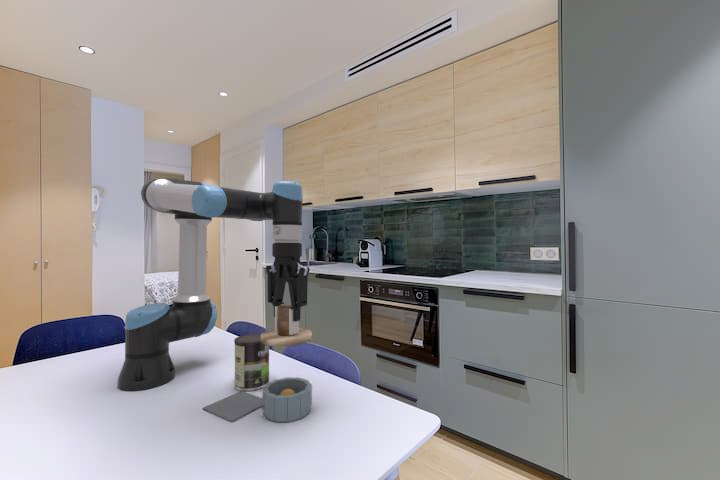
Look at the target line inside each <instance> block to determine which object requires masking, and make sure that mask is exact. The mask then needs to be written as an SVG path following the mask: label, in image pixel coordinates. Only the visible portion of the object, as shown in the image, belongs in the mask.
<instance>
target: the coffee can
mask: <svg viewBox="0 0 720 480" xmlns="http://www.w3.org/2000/svg"><path fill="white" fill-rule="evenodd" d="M261 334H262V333H249V334H244V335H240V336H237V337H235V338H234V388H235V389H236V390H238V391H244V392H251V391H256V390H257V391H258V390H260V389H263V388H264V387H265V385H266V384H267V383H270V345H265V344H263V343H262V342H261V341H260V338H261Z"/></svg>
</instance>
